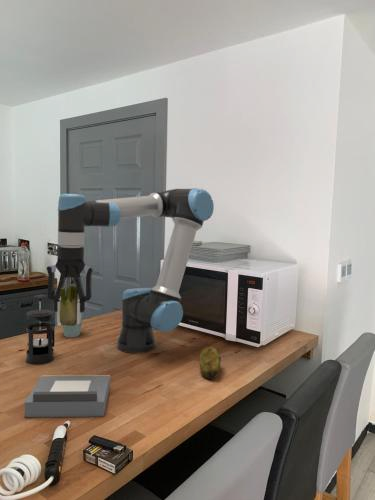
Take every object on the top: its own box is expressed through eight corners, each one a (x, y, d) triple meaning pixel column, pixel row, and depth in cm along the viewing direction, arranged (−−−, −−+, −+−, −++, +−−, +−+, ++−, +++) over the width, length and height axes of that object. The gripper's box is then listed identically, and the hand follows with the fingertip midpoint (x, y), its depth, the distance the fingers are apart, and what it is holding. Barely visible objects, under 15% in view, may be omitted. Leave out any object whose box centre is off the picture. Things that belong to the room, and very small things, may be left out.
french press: (39, 367, 133) (39, 300, 130) (18, 362, 136) (17, 296, 134) (63, 355, 144) (63, 293, 141) (42, 351, 147) (42, 290, 145)
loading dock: (109, 387, 120) (110, 368, 120) (103, 416, 104) (104, 394, 103) (41, 387, 118) (41, 368, 118) (24, 417, 102) (24, 395, 101)
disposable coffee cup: (74, 329, 174) (74, 296, 172) (91, 335, 168) (91, 300, 166) (53, 335, 165) (53, 300, 164) (70, 341, 159) (70, 304, 157)
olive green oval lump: (191, 378, 129) (192, 354, 128) (202, 364, 141) (203, 342, 140) (216, 383, 127) (217, 358, 126) (225, 368, 139) (226, 345, 138)
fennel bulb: (59, 327, 117) (60, 287, 116) (58, 323, 122) (59, 284, 121) (79, 326, 119) (80, 287, 118) (77, 322, 124) (78, 284, 123)
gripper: (103, 246, 123) (101, 319, 125) (43, 243, 121) (42, 318, 124) (99, 248, 115) (97, 326, 117) (35, 246, 114) (35, 325, 116)
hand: (69, 322), depth 121 cm, fingers closed on fennel bulb, 5 cm apart
